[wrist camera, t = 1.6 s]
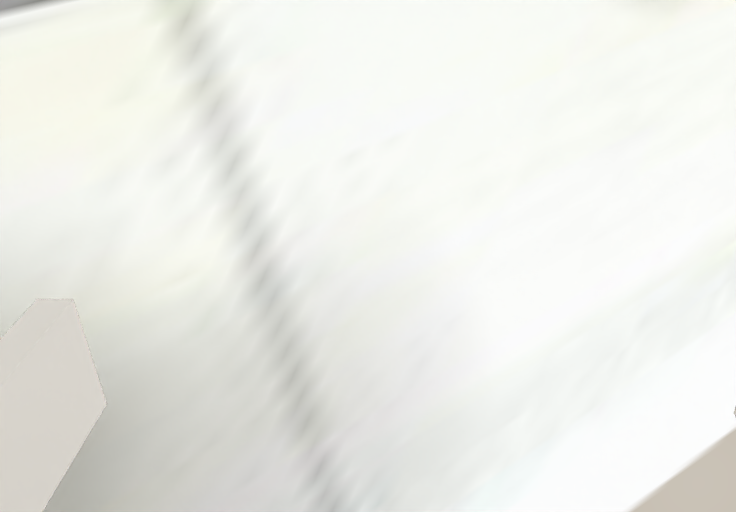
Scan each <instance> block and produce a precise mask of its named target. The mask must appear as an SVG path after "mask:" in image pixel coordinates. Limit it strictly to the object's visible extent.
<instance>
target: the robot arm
mask: <svg viewBox="0 0 736 512" xmlns="http://www.w3.org/2000/svg"><path fill="white" fill-rule="evenodd" d="M106 405H107V402H106V399H105V396H104V393H103V390H102V387H101V383H100V380H99V377H98V374H97V371H96V368H95V365H94V362H93V359H92V356H91V353H90V349H89V346H88V343H87V340H86V337H85V334H84V331H83V328H82V325H81V322H80V319H79V315H78V312H77V309H76V306H75V303H74V300H73V299H36V300H35V301H34V302H33V304H32V305H31V306H30V307H29V308H28V309H27V310H26V311H25V312H24V313H23V315H22V316H21V317H20V318H19V319H18V320H17V321H16V322H15V323H14V324H13V326H12V327H11V328H10V329H9V330H8V331H7V332H6V333H5V334H4V336H3V337H2V338H1V339H0V512H43V510H44V509H45V507H46V505H47V504H48V502H49V500H50V499H51V497H52V495H53V494H54V492H55V490H56V489H57V487H58V485H59V484H60V482H61V480H62V479H63V477H64V475H65V473H66V472H67V470H68V468H69V467H70V465H71V463H72V462H73V460H74V458H75V457H76V455H77V453H78V452H79V450H80V448H81V447H82V445H83V443H84V442H85V440H86V438H87V437H88V435H89V433H90V432H91V430H92V428H93V427H94V425H95V423H96V422H97V420H98V418H99V417H100V415H101V413H102V412H103V410H104V408H105V407H106ZM734 414H735V416H736V407H735V411H734Z"/></svg>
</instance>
